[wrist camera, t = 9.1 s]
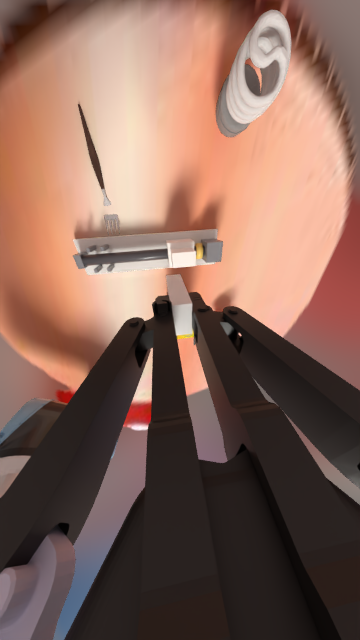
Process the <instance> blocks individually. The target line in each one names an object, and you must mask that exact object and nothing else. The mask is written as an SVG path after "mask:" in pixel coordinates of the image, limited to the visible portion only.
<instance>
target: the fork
mask: <svg viewBox="0 0 360 640" xmlns="http://www.w3.org/2000/svg"><path fill="white" fill-rule="evenodd" d="M78 107H79V111H80V116H81V120H82V124H83V128H84V133H85V137H86V141H87V146H88V150H89V155H90V159H91V162H92V165H93V168H94V171H95V173H96V176H97V179H98V181H99V184H100V187H101V189H102V192H103V195H104V206H108V205H111V203H110V201H109V200H108V198H107V197H106V194H105V189H104V184H103V179H102V173H101V168H100V164H99V160H98V157H97V154H96V151H95V148H94V146H93V143H92V140H91V137H90V134H89V131H88V128H87V125H86V122H85V119H84V116H83V113H82V110H81V107H80V105H79V104H78ZM104 219H105V222H106V227H107V231H108V223H107V220H109V223H110V228H111V232H112V225H111V219H112V220H113V224H114V229H115V233H116V228H115V219H116V221H117V225H118V230H119V221H118V215H117V214H113V215H104ZM119 234H120V231H119ZM108 235H109V233H108Z"/></svg>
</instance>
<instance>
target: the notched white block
mask: <svg viewBox="0 0 360 640" xmlns="http://www.w3.org/2000/svg"><path fill="white" fill-rule="evenodd" d="M166 245H167V248H168V264H169V268H180V267H191V266H196V251H195V250H194V241H193V240H192V239H190V238H189V239H176V240H166Z"/></svg>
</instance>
